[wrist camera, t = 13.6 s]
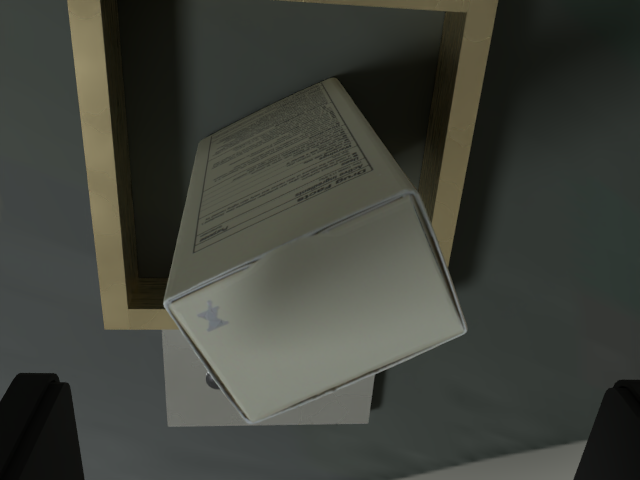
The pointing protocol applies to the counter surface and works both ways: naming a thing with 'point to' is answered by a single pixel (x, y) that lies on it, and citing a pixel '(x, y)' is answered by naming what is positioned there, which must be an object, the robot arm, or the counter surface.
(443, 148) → the wooden flat frame
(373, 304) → the skincare box
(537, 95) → the counter surface
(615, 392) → the robot arm
